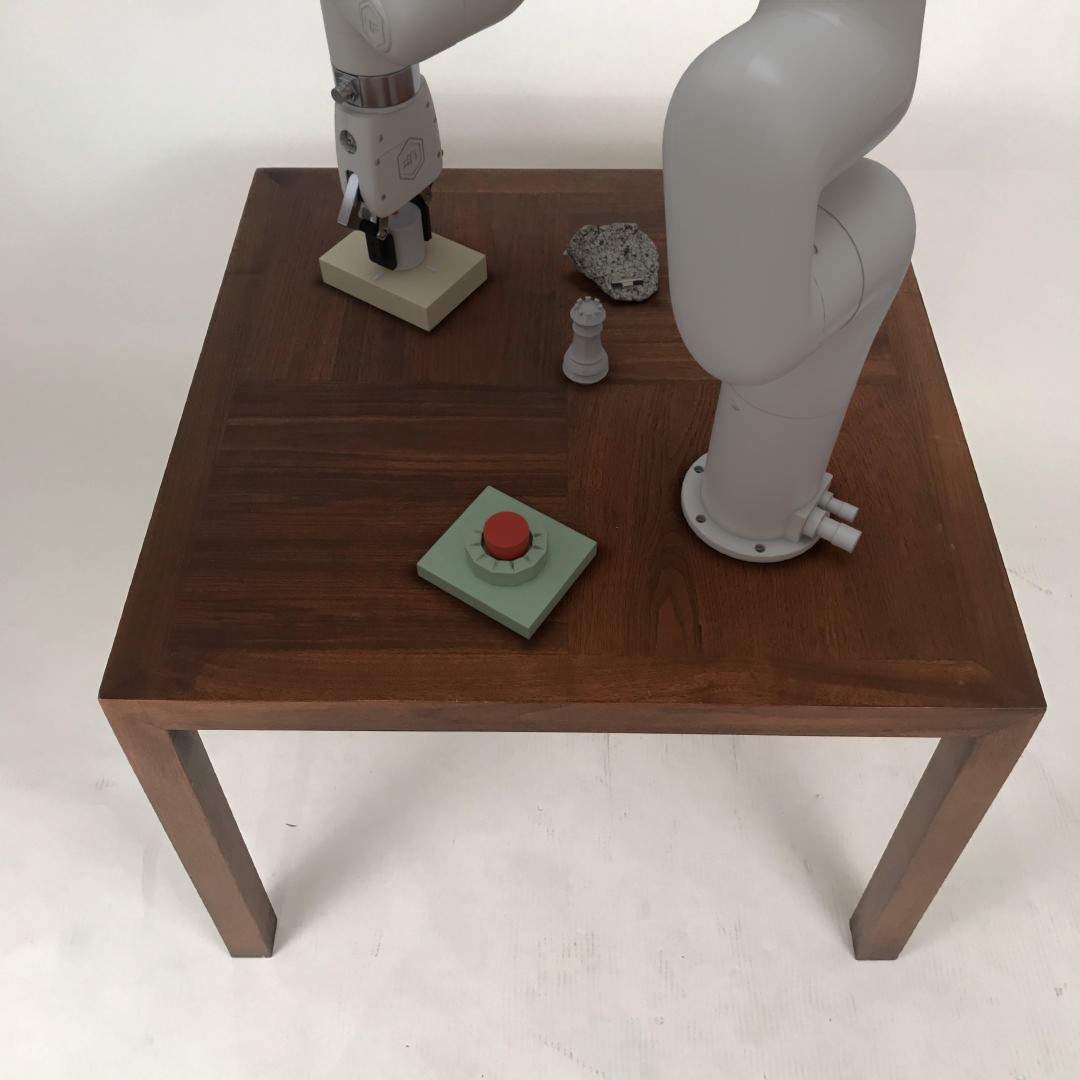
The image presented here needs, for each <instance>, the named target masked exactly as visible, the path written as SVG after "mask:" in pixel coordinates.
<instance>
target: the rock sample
mask: <svg viewBox="0 0 1080 1080" xmlns="http://www.w3.org/2000/svg"><path fill="white" fill-rule="evenodd" d="M566 246H568V248H565V250H564V252H563V255H564V256H567V257H568V258H569V259H570V261H572V263H573V264H574V267H575V268H576V270H577V271H578V272H580V273H581V274H583V275H584V276H585V277H587V278H589V280H592V281H593V282H594V283H596V284H597V285H598V286H596V289H597V288H600V290H602V291H603V292H604V293H605V294H607V295H608V296H610V297H611V298H612V299H614V300H616V301H625V302H643V301H644V300H646V299H648V298H650V297H651V296H652V295H653V294H655V292H657V291H658V289H659V285H660V284H659V275H658V271H659V269H660V267H661V264H660V261H658V258H659V257H660V254H659V249H660V248H658V249H657V245H656V244H655V243H654V241H653V239H651V238H650V237H649V236H648V234H647V233H646V232H645V231H641V230H640V229H639V226H638V224H637V223H635V222H630V221H628V222H611V223H608V224H605V225H603V224H602V225H595V224H584V225H583V226H581V228H580V229H578V231H575V233H574V235H573V236H572V238H571V239H570V241H568V243H567V244H566ZM657 250H658V251H657Z"/></svg>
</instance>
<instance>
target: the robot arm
mask: <svg viewBox="0 0 1080 1080" xmlns="http://www.w3.org/2000/svg"><path fill="white" fill-rule="evenodd" d="M758 1H759V2H758V3H757V7H756V9H755V11H754V13H753V14H752V16H750V19H748V20H747V21H746V22H744V23H742V24H740V25H739V26H737V27H736V28H734V29H733V30H731V31H729V32H728V33H726V34H724V35H722V36H721V37H720V38H719V39H716V40H715V41H714V42H712V43H711V44H710V45H708V46H707V47H706V48H705V49H704V50H703V51H702V52H701V53H699V54H698V55H697V56H696V57H695V58H694V59H693V60H692V62H691V63H689V65H688V66H687V68H686V69H685V70H684V72H683V73H682V74H681V76H680V78H679V80H678V82H677V83H676V86H675V87H674V90H673V92H672V95H671V98H670V99H669V103H668V107H667V110H666V114H665V119H664V123H663V130H662V144H661V150H662V151H661V152H662V153H661V154H662V155H661V157H662V179H663V181H662V182H663V198H664V199H663V200H664V217H665V235H666V252H667V269H668V270H667V271H668V284H669V285H668V287H669V296H670V303H671V308H672V314H673V317H674V321H675V325H676V328H677V330H678V332H679V335H680V337H681V340H682V341H683V343H684V346H685V347H686V349H687V351H688V353H689V354H690V355H691V356H692V358H693V359H694V361H695V362H696V363H697V364H698V366H700V367H701V368H702V369H703V370H704V371H705V372H707V373H708V374H710V376H712V377H714V378H715V379H717V380H719V381H721V384H720V389H719V395H718V399H717V404H716V409H715V414H714V419H713V424H712V428H711V434H710V439H709V444H708V449H707V452H705V453H704V454H702V455H701V456H700V457H699V458H698V459H696V460H695V461H694V462H693V463H692V465H691V466H690V467H689V469H688V470H687V472H686V473H685V475H684V479H683V481H682V486H681V493H680V505H681V509H682V513H683V516H684V518H685V520H686V522H687V524H688V526H689V527H690V529H691V530H692V531H693V532H694V533H695V535H696V536H697V537H698V538H699V539H700V540H701V541H703V543H705V544H706V545H707V546H709V547H710V548H713V549H714V550H716V551H717V552H719V553H721V554H723V555H726V556H728V557H730V558H732V559H737V560H741V561H744V562H751V563H762V564H763V563H777V562H782V561H785V560H790V559H793V558H795V557H797V556H799V555H803V554H804V553H805V552H806V551H808V550H810V549H811V548H813V546H814V545H815V544H816V543H817V542H818V541H820V539H823V540H825V541H828V542H830V544H831V545H833V546H835V547H838V548H839V549H842V550H843V551H845V552H847V553H849V554H852V553H853V551H854V549H855V548H856V546H857V544H858V542H859V540H860V538H861V536H862V534H863V532H862V531H861V530H859V529H856V528H854V527H852V526H850V525H848V524H846V523H844V522H839V521H836V520H835V519H833V518H831V517H830V515H831V514H832V515H834V516H836V517H837V518H838V519H839V518H840V519H841V520H843V521H846V522H848V523H850V524H852V523H853V522H854V520H855V518H856V516H857V515H858V512H859V510H860V508H859V507H857V506H855V505H852V504H851V503H849V502H846V501H842V500H840V499H838V498H835V497H834V493H833V492H831V491H829V489H830V486H831V483H832V480H833V477H834V475H833V474H832V473H829V472H828V471H826V470H827V468H828V465H829V463H830V460H831V457H832V454H833V451H834V448H835V445H836V442H837V439H838V436H839V434H840V431H841V429H842V425H843V422H844V420H845V416H846V414H847V411H848V408H849V405H850V402H851V400H852V397H853V395H854V392H855V389H856V386H857V384H858V381H859V379H860V375H861V374H862V370H863V367H864V365H865V362H866V359H867V357H868V355H869V352H870V349H871V347H872V345H873V343H874V340H875V338H876V335H878V331H879V329H880V327H881V326H882V323H883V321H884V320H885V318H886V316H887V314H888V311H889V310H890V308H891V306H892V304H893V302H894V300H895V298H896V297H897V294H898V293H899V290H900V288H901V286H902V284H903V281H904V279H905V277H906V274H907V272H908V270H909V267H910V264H911V260H912V258H913V254H914V250H915V245H916V238H917V237H916V236H917V220H916V213H915V208H914V207H915V206H914V204H913V201H912V197H911V196H910V193H909V192H908V189H907V188H906V186H905V185H904V183H903V181H902V180H901V179H900V177H898V176H897V175H896V173H894V172H893V170H891V169H890V168H888V167H887V166H886V165H884V164H882V163H881V162H879V161H877V160H874V159H872V158H868V157H866V155H868V154H869V153H870V152H871V151H872V150H874V149H875V148H877V146H879V145H880V144H881V143H882V142H883V141H884V140H885V139H886V138H887V137H889V135H891V133H892V132H893V131H894V130H895V129H896V128H897V126H898V125H899V124H900V122H902V120H903V118H904V117H905V116H906V114H907V113H908V110H909V109H910V105H911V103H912V101H913V100H912V99H913V97H914V93H915V89H916V85H917V79H918V74H919V73H918V72H919V67H920V66H919V65H920V58H921V50H922V49H921V48H922V40H923V39H922V38H923V32H924V31H923V30H924V23H925V14H926V6H927V0H758ZM524 2H525V0H319V4H320V10H321V16H322V20H323V26H324V32H325V37H326V42H327V49H328V54H329V60H330V61H329V62H330V66H331V72H332V77H333V78H332V79H333V83H334V87H333V88H332V89H331V90H330V94H331V95H330V96H331V98H332V100H333V101H334V120H333V121H334V142H335V143H334V144H335V154H336V162H337V170H338V176H339V181H340V187H341V191H342V195H343V198H342V202H341V206H340V209H339V213H338V216H337V225H339V226H341V227H343V228H346V229H348V230H352V231H354V230H356V231H362V232H364V233H365V237H366V243H367V248H368V254H369V259H370V260H371V261H372V262H374V263H376V264H378V265H380V266H382V267H385V268H387V269H389V270H391V271H393V270H394V269H396V268H397V259H396V252H395V245H394V238H393V235H392V234H390V233H388V221H389V215H391V214H393V213H394V212H395V211H397V210H398V209H399V208H401V207H402V206H403V205H405V204H406V203H407V202H408V201H409V202H411V203H413V204H415V205H416V206H418V208H419V209H420V212H421V219H422V228H423V237H424V241H429V240H430V239H431V238H432V225H431V224H432V223H431V216H430V206H429V204H430V203H431V202H432V199H433V192H432V187H433V184H434V182H435V181H436V180H437V179H438V178H439V176H440V175H441V173H442V171H443V167H444V166H443V164H444V163H443V156H444V150H443V148H442V142H441V135H440V130H439V129H440V128H439V123H438V118H437V113H436V108H435V105H434V100H433V97H432V93H431V90H430V88H429V84H428V82H427V80H426V78H425V76H424V75H423V74H422V73H421V70H420V64H421V63H422V62H425V61H427V60H429V59H431V58H433V57H435V56H437V55H439V54H440V53H442V52H444V51H447V50H448V49H450V48H452V47H454V46H456V45H457V44H458V43H460V42H463V41H464V40H466V39H468V38H470V37H472V36H474V35H477V34H478V33H480V32H482V31H484V30H487V29H488V28H491V27H493V26H495V25H496V24H498V23H501V22H502V21H504V20H505V19H507V18H508V17H509V16H511V15H512V14H513V13H514V12H515V11H516V10H518V8H519V7H520V6H521V5H522V4H523V3H524ZM372 214H373V215H376V223H374V222H372V221H370V219H371V217H372Z"/></svg>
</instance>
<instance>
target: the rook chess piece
mask: <svg viewBox="0 0 1080 1080" xmlns="http://www.w3.org/2000/svg"><path fill="white" fill-rule="evenodd" d="M584 299H585V300H583V298H581V297H579V298H578V299H576V303H574V306H572V308H571V309H570V312H569V313H570V318H571V319H572V321H573V322H572V324H571V327H572V328H571V329H572V331H573V338H572V342H571V344H570V346H569V347H568V348H567V350H566V352H565V353H564V356H563V363H562V371H563V373H564V375H565V376H566V377H567V378H568V379H569V380H571V381H572V382H573V383H576V384H579V385H592V384H596V383H598V382H600V381H601V380H602V379H604V378H605V377H606V376H607V374H608V372H609V357H608V353H607V352H606V351H605V348H604V347H603V345H602V340H601V332H602V331H603V329H604V327H603V321H605V319H606V317H607V313H606V312H607V311H606V310H605V308H604V307H603V303H601V300H600V299H599V298H597V297H595V298H594V300H592V297H591V296H588V295H587V296H585V297H584Z"/></svg>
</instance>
